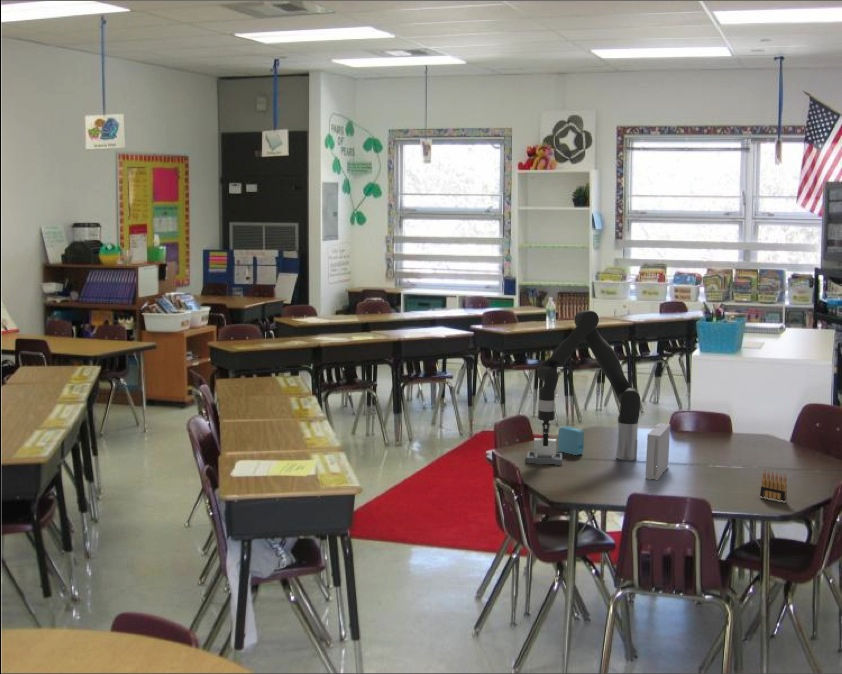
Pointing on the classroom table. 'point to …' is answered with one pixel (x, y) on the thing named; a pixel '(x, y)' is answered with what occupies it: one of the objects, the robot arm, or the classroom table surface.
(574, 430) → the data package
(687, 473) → the classroom table surface
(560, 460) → the tray
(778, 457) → the classroom table surface
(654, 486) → the classroom table surface
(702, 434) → the classroom table surface
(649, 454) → the game console
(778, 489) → the ammunition clip
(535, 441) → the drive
